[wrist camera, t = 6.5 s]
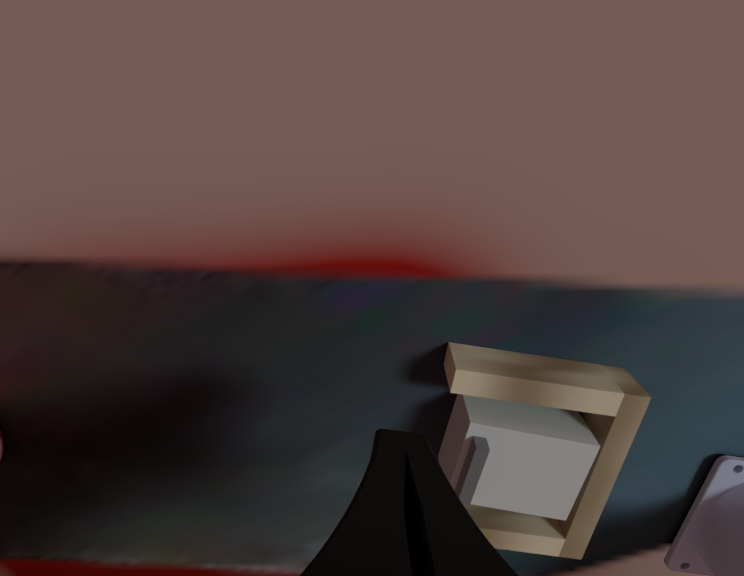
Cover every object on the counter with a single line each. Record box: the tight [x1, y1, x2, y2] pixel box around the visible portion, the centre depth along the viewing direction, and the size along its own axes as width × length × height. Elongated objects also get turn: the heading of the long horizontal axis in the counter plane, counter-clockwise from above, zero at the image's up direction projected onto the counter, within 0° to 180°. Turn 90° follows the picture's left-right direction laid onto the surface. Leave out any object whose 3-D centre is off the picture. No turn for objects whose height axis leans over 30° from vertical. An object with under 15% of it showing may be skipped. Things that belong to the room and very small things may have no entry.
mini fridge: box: [438, 394, 600, 521], centre depth 23 cm, size 6×4×4 cm
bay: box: [444, 342, 651, 560], centre depth 24 cm, size 9×10×2 cm
